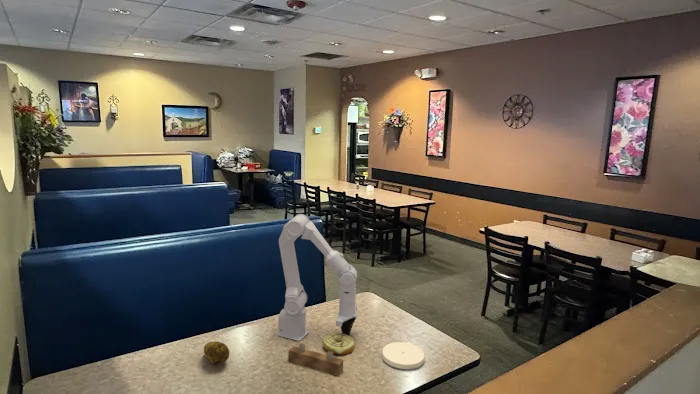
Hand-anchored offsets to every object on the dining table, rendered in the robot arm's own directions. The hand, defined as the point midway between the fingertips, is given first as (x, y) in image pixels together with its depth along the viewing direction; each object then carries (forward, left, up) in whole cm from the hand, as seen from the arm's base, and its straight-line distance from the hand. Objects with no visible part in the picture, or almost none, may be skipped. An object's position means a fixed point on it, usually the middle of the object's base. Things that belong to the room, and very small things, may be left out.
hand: (345, 336), depth 150 cm
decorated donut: (0, -6, -2) cm, 7 cm away
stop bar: (-2, -20, -1) cm, 20 cm away
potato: (-31, -32, -2) cm, 45 cm away
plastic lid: (+22, -3, -2) cm, 22 cm away
